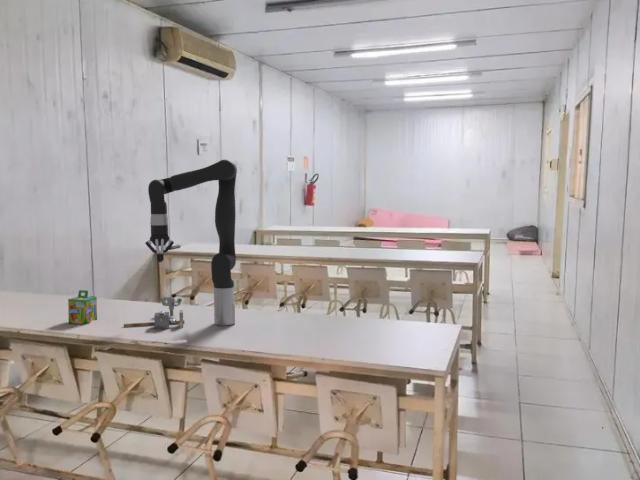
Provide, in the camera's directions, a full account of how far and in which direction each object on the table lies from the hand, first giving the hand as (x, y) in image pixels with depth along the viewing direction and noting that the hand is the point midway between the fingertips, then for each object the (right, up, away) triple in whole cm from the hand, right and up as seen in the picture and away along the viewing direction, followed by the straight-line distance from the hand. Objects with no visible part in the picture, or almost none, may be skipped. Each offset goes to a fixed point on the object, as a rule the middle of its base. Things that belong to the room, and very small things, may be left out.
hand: (160, 261), depth 241 cm
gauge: (+5, -29, -9) cm, 30 cm away
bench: (0, -30, -8) cm, 31 cm away
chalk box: (-38, -29, +7) cm, 48 cm away
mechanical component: (+1, -28, +14) cm, 31 cm away
